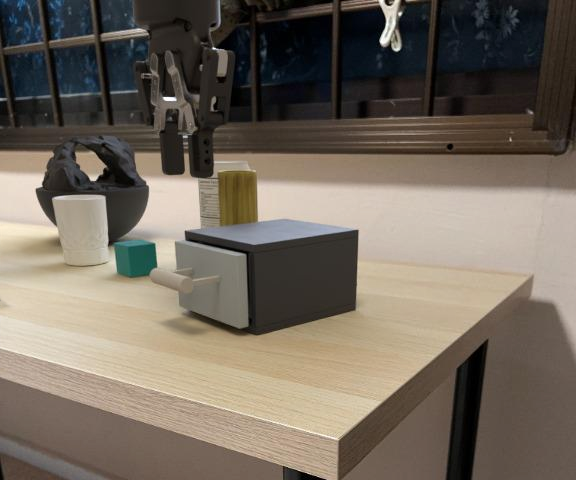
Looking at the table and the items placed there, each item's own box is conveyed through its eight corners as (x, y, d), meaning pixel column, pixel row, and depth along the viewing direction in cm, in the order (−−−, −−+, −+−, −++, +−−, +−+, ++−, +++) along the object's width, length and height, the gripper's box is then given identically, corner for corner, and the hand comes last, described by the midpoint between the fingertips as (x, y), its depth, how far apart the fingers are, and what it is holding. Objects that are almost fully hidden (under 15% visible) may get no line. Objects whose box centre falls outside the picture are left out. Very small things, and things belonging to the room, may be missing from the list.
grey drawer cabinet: (256, 335, 62) (254, 244, 58) (189, 310, 71) (184, 230, 67) (356, 309, 71) (359, 229, 67) (285, 290, 79) (284, 218, 76)
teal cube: (130, 277, 87) (127, 246, 85) (116, 272, 90) (113, 242, 88) (158, 273, 89) (155, 243, 88) (143, 268, 93) (140, 239, 91)
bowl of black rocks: (154, 248, 108) (143, 134, 101) (35, 253, 105) (16, 135, 97) (153, 232, 126) (144, 134, 119) (52, 236, 123) (37, 135, 116)
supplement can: (198, 258, 100) (192, 161, 94) (247, 255, 102) (244, 160, 96) (207, 268, 93) (202, 163, 87) (260, 264, 95) (257, 162, 89)
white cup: (111, 256, 102) (104, 194, 98) (114, 265, 95) (106, 198, 91) (62, 259, 100) (52, 195, 96) (60, 268, 93) (50, 200, 89)
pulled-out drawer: (198, 339, 58) (193, 262, 55) (141, 314, 66) (134, 246, 63) (335, 305, 69) (336, 239, 66) (271, 287, 77) (270, 228, 74)
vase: (270, 275, 87) (269, 170, 82) (238, 283, 83) (234, 173, 78) (242, 269, 91) (239, 169, 86) (210, 276, 87) (204, 171, 82)
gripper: (96, -26, 55) (117, 174, 61) (180, -62, 45) (195, 182, 51) (169, -15, 59) (182, 171, 66) (260, -45, 49) (264, 177, 56)
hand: (187, 175), depth 59 cm, fingers open, 4 cm apart
